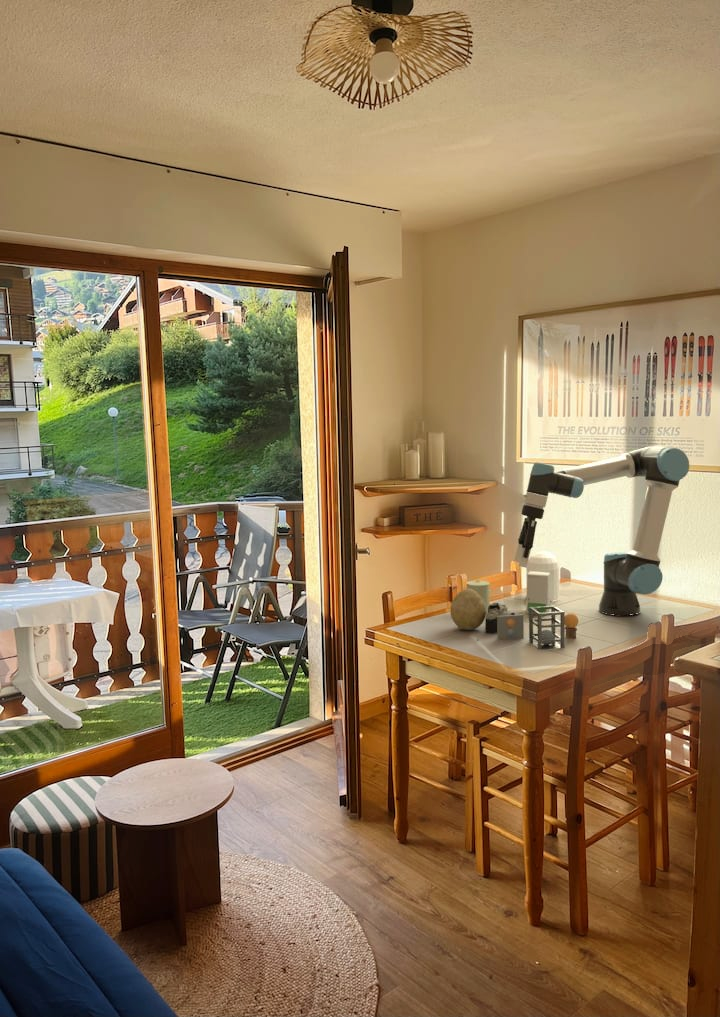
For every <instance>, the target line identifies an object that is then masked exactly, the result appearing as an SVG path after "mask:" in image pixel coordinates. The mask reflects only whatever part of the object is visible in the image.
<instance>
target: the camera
mask: <svg viewBox="0 0 720 1017" xmlns="http://www.w3.org/2000/svg"><path fill="white" fill-rule="evenodd" d="M505 615H516V613H515V612H511V611H509V610H508V606H506V604H502V603H499V602H493V603H490V605H489V607H488V613H487V614H486V616H485V619H484V620H485V621H484V622H485V634H489V635H494V634H496V633H497V616H505Z"/></svg>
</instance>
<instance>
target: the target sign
mask: <svg viewBox="0 0 720 1017" xmlns="http://www.w3.org/2000/svg"><path fill="white" fill-rule="evenodd" d="M524 616H525V615H524V614H521V613H520V614H515V615H505V616H497V632H496V633H497V636H496V639H497V640H498V641H512V640H513V641H514V640H525V637H524V636H525V635H524V633H525V632H524V631H525V630H524V623H525V622H524Z"/></svg>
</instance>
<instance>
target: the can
mask: <svg viewBox="0 0 720 1017" xmlns="http://www.w3.org/2000/svg"><path fill="white" fill-rule="evenodd" d="M490 583H491V582H490V581H487V580H469V581H467V582H466V589H472V590H474V591H476V592H477V593H478V594H479V595H480V596H481V598H482V599H483V601H484V603H485V607H486V614H487V613H488V607H489V605H490V604H491V603H490V602H491V596H490V594H491V591H490V590H491V587H490V585H491V584H490Z"/></svg>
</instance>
